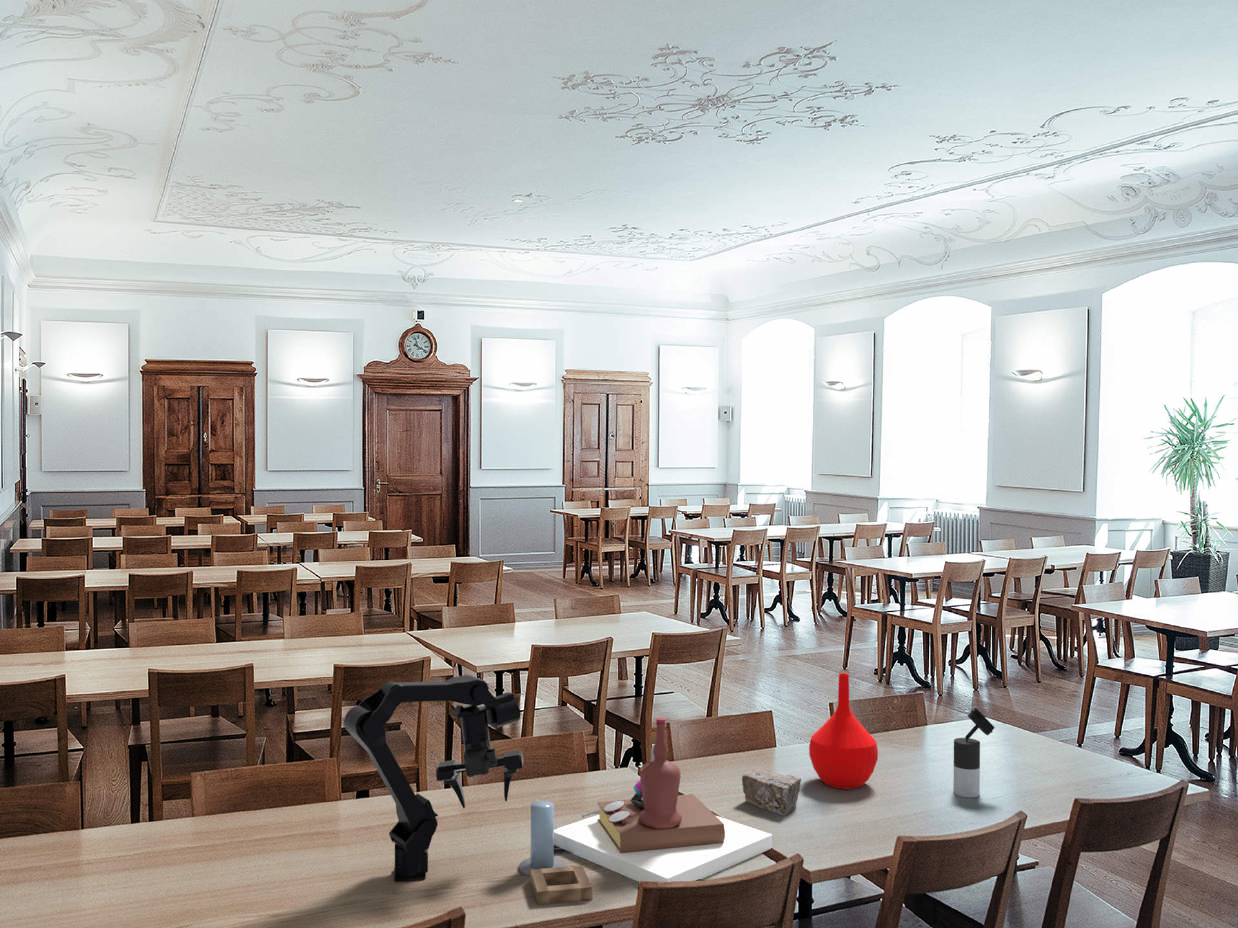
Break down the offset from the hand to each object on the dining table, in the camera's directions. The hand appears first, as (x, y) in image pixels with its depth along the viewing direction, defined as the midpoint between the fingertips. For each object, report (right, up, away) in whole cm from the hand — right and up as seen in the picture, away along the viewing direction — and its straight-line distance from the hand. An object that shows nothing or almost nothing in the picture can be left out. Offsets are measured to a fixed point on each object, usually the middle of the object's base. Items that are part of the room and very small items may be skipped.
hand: (485, 804), depth 223 cm
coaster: (+13, -12, -4) cm, 18 cm away
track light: (+124, -13, +46) cm, 133 cm away
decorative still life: (+38, -13, +10) cm, 41 cm away
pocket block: (+17, -12, -16) cm, 26 cm away
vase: (+90, -13, +54) cm, 106 cm away
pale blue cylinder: (+13, -12, -4) cm, 18 cm away
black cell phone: (+15, -13, +10) cm, 22 cm away
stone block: (+69, -13, +36) cm, 78 cm away
